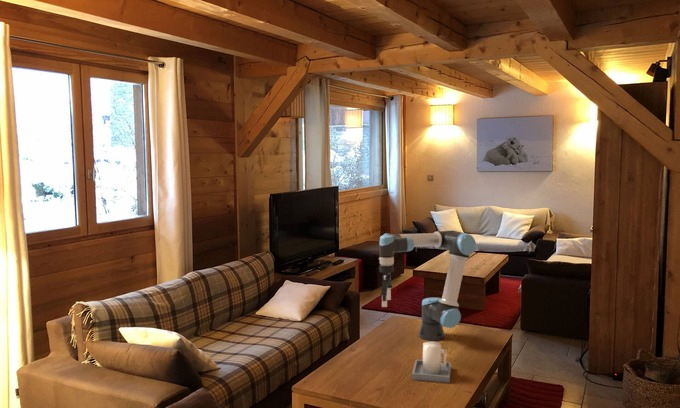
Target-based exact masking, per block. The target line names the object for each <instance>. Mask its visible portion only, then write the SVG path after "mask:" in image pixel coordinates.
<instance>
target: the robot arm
mask: <svg viewBox="0 0 680 408" xmlns="http://www.w3.org/2000/svg"><path fill="white" fill-rule="evenodd" d="M476 242H477V241H476V239H475V238H474V237H473V236H472V235H471V234H468V233H467V232H461V231H457V230H440V231H434V232H432V233H429V232H428V233H425V232H424V233H401V234H400V233H398V234H395V233H393V234H392V233H389V232H388V233H384V234H383V235H381V236H380V237H379V245H378V246H379V258H378V260H379V269H378V270H379V272H380V273H383V274H382V276H381V279H382V281H381V292H380V293H379V294H380V295H381V308H387V307H388V301H391V300H392V296H391V295H392V294H391V293H392V291H391V289H392V288H393V285H392V275H391V274H392V273H393V272H395V271H394V263H395V259H394V258H395V256H394V255H395V253H403V252H404V253H405V252H406V253H407V252H411V251H413V250H414V248H420V247H423V248H424V247H434V248H435V249H439V248H440V249H446V250H449V251H448V256H449V257H450V259H449V263H448V268H447V274H446V278H445V283H444V287H443V292H442V296H441V297H426V298H424V299H422V301H421V324H420V326H419V330H418V337H419V338H420V339H422V340H426V341H432V342H436V341H441V340H443V339H444V338H445V331H444V328H448V329H452V328H455V327H456V326H457V325H458V324H459V323H460V322H461V319H462V313H461V312H460V310H459V307H460V305H459V303H458V298H459V294H460V289H461V285H462V284H461V283H462V280H463V275H464V271H465V267H466V266H465V265H466V261H467V260H469V259H470V256H471V255H472V254H473V253H474V252H475V251H476V247H477V243H476Z"/></svg>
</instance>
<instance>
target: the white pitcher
mask: <svg viewBox="0 0 680 408" xmlns="http://www.w3.org/2000/svg"><path fill="white" fill-rule="evenodd" d="M442 354H443V362H444V363H441V362H442ZM422 360H423V373H424V374H431V375H439V374H440V373H441V367H446V362H447V349H442V343H440V342H437V341H432V340H429V341H426V342H423V343H422Z"/></svg>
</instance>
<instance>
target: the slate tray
mask: <svg viewBox="0 0 680 408" xmlns="http://www.w3.org/2000/svg"><path fill="white" fill-rule="evenodd" d="M441 363H444V361H441ZM451 372H452V362H449V361H446V367H441V373H440V374H439V375H431V374H424V373H423V359H415V360H414V365H413V369H412V372H411V380H414V381H422V382H423V381H424V382H433V383H434V382H435V383H447V384H450V383H451V382H450V380H451Z"/></svg>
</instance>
